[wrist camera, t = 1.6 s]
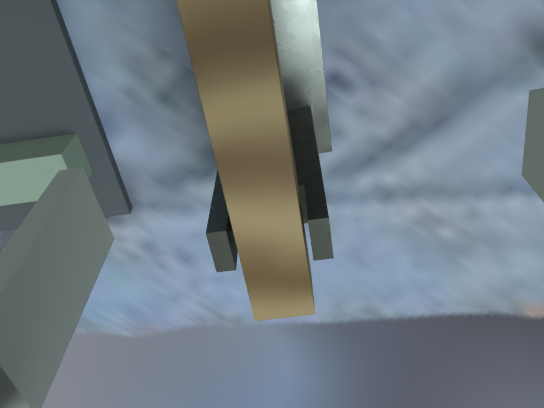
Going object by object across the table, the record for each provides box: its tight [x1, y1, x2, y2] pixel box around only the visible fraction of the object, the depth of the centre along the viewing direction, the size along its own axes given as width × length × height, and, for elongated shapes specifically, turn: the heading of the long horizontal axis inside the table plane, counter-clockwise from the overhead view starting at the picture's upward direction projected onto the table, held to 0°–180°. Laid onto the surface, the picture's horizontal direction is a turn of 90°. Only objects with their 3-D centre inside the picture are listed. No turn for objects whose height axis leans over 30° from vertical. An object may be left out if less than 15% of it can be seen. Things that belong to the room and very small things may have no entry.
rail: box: [177, 0, 315, 321], centre depth 26 cm, size 36×4×4 cm, turn 9°
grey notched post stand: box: [206, 0, 333, 272], centre depth 31 cm, size 30×10×18 cm, turn 9°
